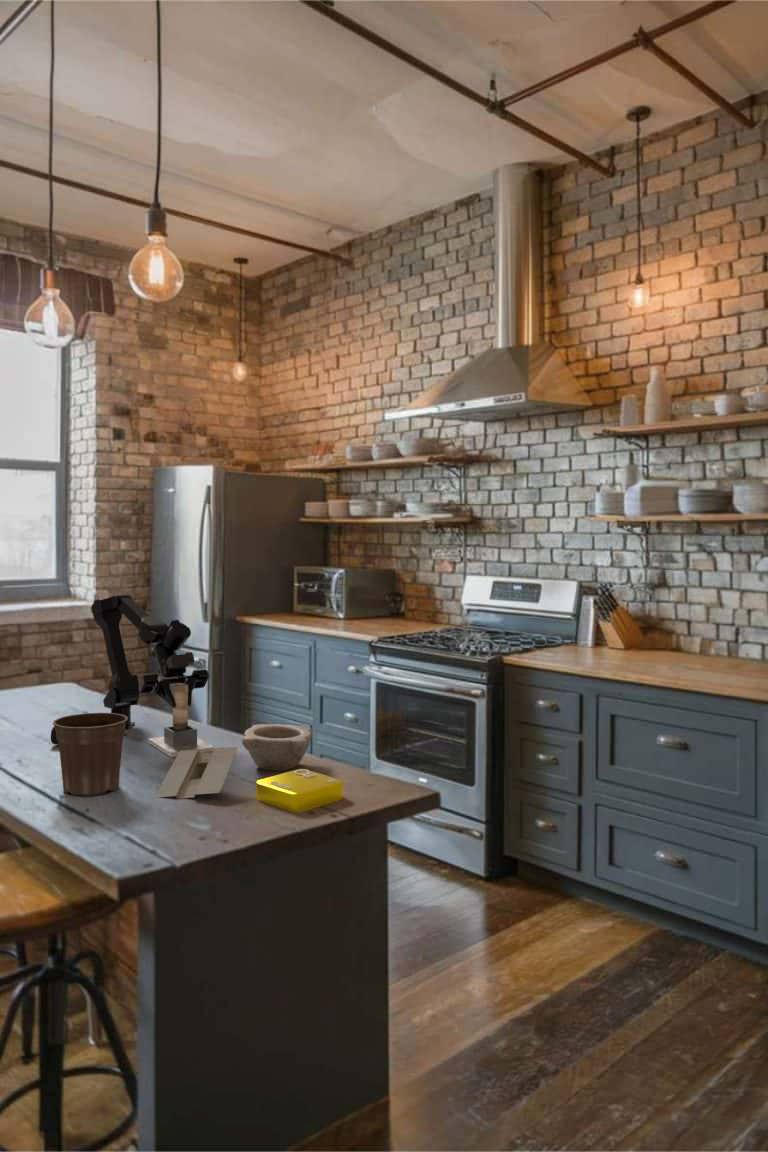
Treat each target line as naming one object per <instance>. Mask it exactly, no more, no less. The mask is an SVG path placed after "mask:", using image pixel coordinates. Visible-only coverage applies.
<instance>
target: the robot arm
mask: <svg viewBox="0 0 768 1152" xmlns="http://www.w3.org/2000/svg"><path fill="white" fill-rule="evenodd" d="M90 610H91V613H92V616H93V619H94V622H95V623H96V624H97V626H99V627H100V628H101V630H102V634H103V639H104V644H105V647H106V652H107V653H106V654H107V657H108V663H109V666H110V671H111V677H110V679H109V683H108V692H107V694H106V695H105V697H104V699H103V700H102V702H103V706H104V708H107V709H110V713H116V714H122V715H125V716H127V717H128V720H127V721H126V724H125V729H129V728H131V727H133V726H134V725H136V722H134V721H133V722H132V719H131V716H132V712H131V711H132V709H131V708H132V706H137V705H138V703H139V698H140V695H142V694H143V695H144V694H151V693H152V692H153V694H154V695H155V696H159V697H160V698H161V699H163V700H164V701H165V702H166V703H167V704H169V705H170V706H171V708H172V709H173V708H175V706H176V705H175V701H174V698H173V691H172V690H171V687H170V686H174V685H180V684H183V685H188V707H191V706H192V699H193V698H192V696H193V695H192V694H193V691H194V689H195V690H196V689H203V688H205V687H206V685H207V683H208V681H209V679H210V677H211V676H210V673H209V671H208V670H207V669H205V668H204V669H203V668H202V669H193V670H192V673H191V675H185V674H186V673H187V667H189V666H191V665H193V664H195V656H194V654H193V652H191V651H188V652H185V653H184V654H182V653H181V654H177V651H179V650H180V649H182V647H183V646H184V645H185V644H186V642H187V641H188V639H189V638H190V637H191V635H192V631H191V629H190V627H189V626H188V625H186V624H184V623H182V622H180V620H179V619H174V620H173V619H172V620H171V621H170V623H169V625H167V623H165V622H163V621H162V620H160V619H157V618H155V617H152V616H150V615H149V614H148V612H146V611H145V610H144V609H143V608H142V607H141V606H140V605H139V604H138V603H136V601H135V600H133V597H132V595H130V594H127V593H125V594H124V593H123V594H114V595H113V596H111V597H110V596H109V597H106V598H98V599H95V600H94V602H93V603H92V604H91V605H90ZM123 615H124V616H125V618H127V619H128V621H129V622H131V624H133V625H134V627H136V629H137V631H138V632H137V635H138V637H139V638H140V640H142V642H143V643H144V644H145V645H155V646H154V647H153V650H152V651H151V653H150V657H152V658H156V661H157V666H158V669H157V671H158V673H159V674H160V676H159V675H158V673H156V672H155V673H154V672H153V673H144V674H142V676H141V678H140V680H139V677H138V675H137V674H132V673H131V672H130V670H129V665H128V661H127V656H126V652H125V645H124V642H123V638H122V633H121V628H120V624H121V621H122V619H123Z"/></svg>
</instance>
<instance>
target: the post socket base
mask: <svg viewBox="0 0 768 1152" xmlns="http://www.w3.org/2000/svg"><path fill="white" fill-rule="evenodd" d="M163 731H164V732H163V736H160V737H159V736H158V737H151V738H148V739H147V743H148V744H149V745H151V746H152V747H153V748H156V749H157V750H159V751H160V752H161V753H163V754H165V755H166V756H168V757H170V758H171V759H172V758H176V757H177V755H178V753H179V752H180V751H182V750H183V751H184V750H199V752H200V753H210V752H214V749H215V746H213V745H212V744H210V743H207V742H206V741H205V740H202V739H200V738H198V729H197V728H196V727H194V726H192V725H189V724H188V730H184V731H174V730H173V725H172V726H165V727H164V728H163Z"/></svg>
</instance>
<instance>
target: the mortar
mask: <svg viewBox="0 0 768 1152" xmlns="http://www.w3.org/2000/svg"><path fill="white" fill-rule="evenodd" d="M312 733H313V729H312V728H311V727H309V726H305V725H293V724H281V723H278V724H277V723H275V724H273V723H266V724H265V723H264V724H263V723H261V724H254V725H251V727H249V728H247V729H246V730H245V731H244V733H243V737H242V740H241V741H242V745H243V747H244V748H245V749H246V750H247V751H248V753H249V755H250V757H251V760H252V761H253V762H254V764H255V765H256V766H257V767H258V768H260V769H263V770H265V771H274V772H276V771H277V772H279V771H280V772H281V771H287V770H291V769H294V768H295V767H297V766H298V765H299V764H300V763H301V761H302V759H303V758H304V756H305V754H306V752H307V750H308V747H309V746H310V742H311V740H312Z"/></svg>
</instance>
